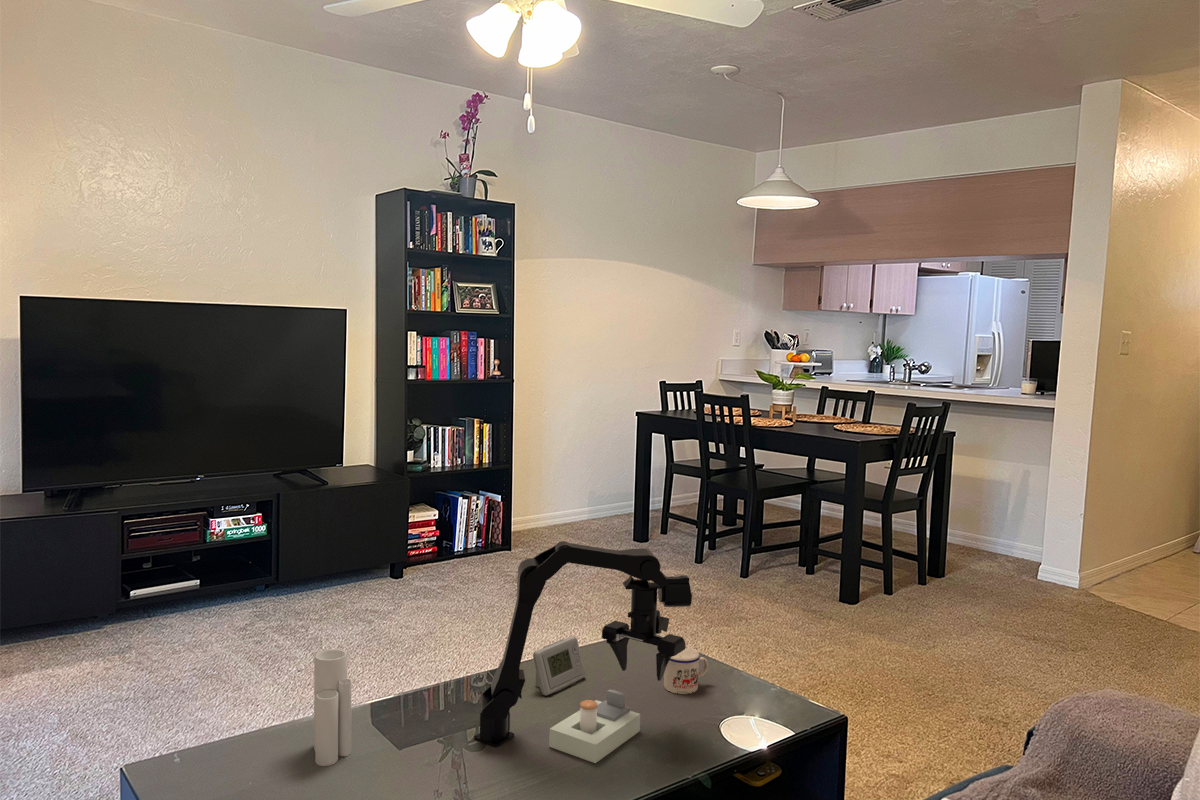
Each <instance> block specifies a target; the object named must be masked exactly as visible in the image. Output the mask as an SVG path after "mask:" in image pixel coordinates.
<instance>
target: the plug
mask: <svg viewBox="0 0 1200 800" xmlns="http://www.w3.org/2000/svg"><path fill="white" fill-rule="evenodd" d="M579 706H580V709H579V710H580V731H583V732H586V733H588V734H591V735H592V734H593V733H595V732H596V725H597V702H595V700H591V699H585V700H583V701H580V704H579Z"/></svg>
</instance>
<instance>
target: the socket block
mask: <svg viewBox="0 0 1200 800" xmlns="http://www.w3.org/2000/svg"><path fill="white" fill-rule="evenodd" d="M594 701H595V702H597V705H598V704H600V703H602V702H603V701H600V700H598V699H595V700H594ZM640 731H641V713H638V712H635V711H632V710H630V711H629V712H628V713H626V714H625V715H623V716H622V717H620V718H619V719H617V720H616V721H611V720H608V719H605V718H601V717H598V716H597V725H596V732H595V733H593V734H592V735H591V734H588V733H586V732H583V731H580V709H579V710H578V711H576V712H575V713H573V714H571V715H569V716H568V717H566V718H564V719H563V720H561V721H560V722H558V723H556V724H555V725H553V726H551V727H550V728H549V731H548V732H549V739H548V740H549V741H548V745H549V746H548V747H549V748H552V749H555V750H557V751H560V752H563V753H565V754H567V755H568V754H569V755H572V756H575V757H577V758H579V759H582V760H585V761H587V762H591V763H594V764H597V762H599V761H601V760H602V759H603V758H605V757H607V756H608V755H609V754H610V753H611V752H613V751H615V750H616V749H617V748H619V747H620V746H621V745H623V744H624V743H625V742H627V741H628V740H630V739H631V738H632V737H634V736H635V735H636V734H638V733H639V732H640Z"/></svg>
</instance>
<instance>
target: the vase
mask: <svg viewBox="0 0 1200 800" xmlns="http://www.w3.org/2000/svg"><path fill="white" fill-rule="evenodd" d="M313 658H314V659H313V660H314V663H313V667H314V669H313V670H314V671H313V677H314V678H313V680H314V683H313V685H314V686H313V709H314V710H313V749H314V751H315V753H314V754H315V756H314V757H315V759H314V760H315V763H316V764H317V765H318V766H319V767H327V766H328V767H329V766H332V765H334V764H336V763H337V762H338V761H339V757H343V756H344V757H348V756H350V755H351V754H352V680H351V679H350V678H348V652H347V651H346V650H343V649H338V648H337V649H335V648H334V649H326V650H322V651H318V652H317V653H315V654H314V657H313ZM349 754H350V755H349Z"/></svg>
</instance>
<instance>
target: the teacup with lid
mask: <svg viewBox="0 0 1200 800" xmlns="http://www.w3.org/2000/svg"><path fill="white" fill-rule="evenodd" d="M701 661H702V662H703V663H704V665H703V668H702V670H701V671H700V672H699V669H700V668H699V665H700V662H701ZM708 669H709V661H708V660H707V659H706V658H705V657H702V656H701V655H700V653H699V651H698V650H696V649H694V648H693V647H689V646H687V642H685V650H683V651H682V652H680V653H678V654H677V655H675V656H672V657H671V658H670V660H669V662H668V664H667V667H666V669H665V672H664V674H663V687H664V689H665V690H666V691H668V692H669V691H670V692H669V693H672V694H677V693H678V694H677V695H688V694H687V693H690V694H693V693H696V691H697V690H698V689H699V678H701V677H703V676H704V675H705V674H706V673H707V671H708ZM692 692H693V693H692Z"/></svg>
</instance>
